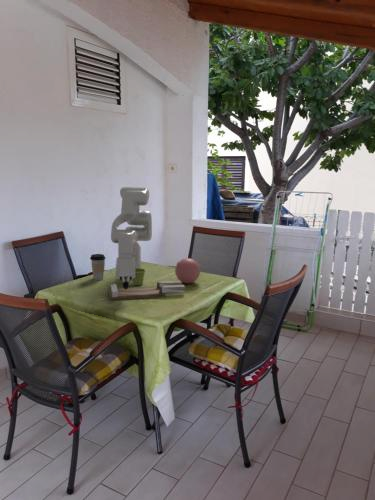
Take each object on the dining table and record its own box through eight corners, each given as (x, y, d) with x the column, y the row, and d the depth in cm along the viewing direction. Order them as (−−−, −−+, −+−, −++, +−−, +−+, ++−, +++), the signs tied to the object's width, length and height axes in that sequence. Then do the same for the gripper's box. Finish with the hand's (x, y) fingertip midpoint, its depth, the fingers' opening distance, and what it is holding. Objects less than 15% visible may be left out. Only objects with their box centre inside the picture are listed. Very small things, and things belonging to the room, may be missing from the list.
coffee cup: (109, 278, 256) (108, 255, 252) (98, 281, 248) (97, 257, 245) (98, 275, 261) (97, 252, 257) (87, 278, 253) (86, 255, 250)
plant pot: (148, 284, 246) (148, 270, 244) (136, 287, 239) (136, 273, 237) (138, 280, 252) (138, 267, 250) (126, 283, 245) (126, 270, 243)
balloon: (189, 276, 265) (190, 253, 262) (204, 284, 247) (205, 260, 244) (168, 278, 258) (168, 255, 255) (181, 287, 241) (181, 262, 237)
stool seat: (108, 291, 230) (108, 283, 229) (179, 288, 240) (180, 280, 239) (110, 300, 217) (110, 291, 216) (185, 295, 227) (185, 287, 226)
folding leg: (110, 288, 229) (110, 283, 228) (115, 288, 229) (115, 283, 229) (112, 297, 215) (112, 291, 214) (117, 296, 216) (117, 291, 215)
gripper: (138, 253, 220) (138, 285, 224) (110, 254, 217) (111, 287, 220) (140, 256, 213) (140, 290, 217) (111, 257, 209) (112, 291, 213)
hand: (125, 288), depth 219 cm, fingers closed
